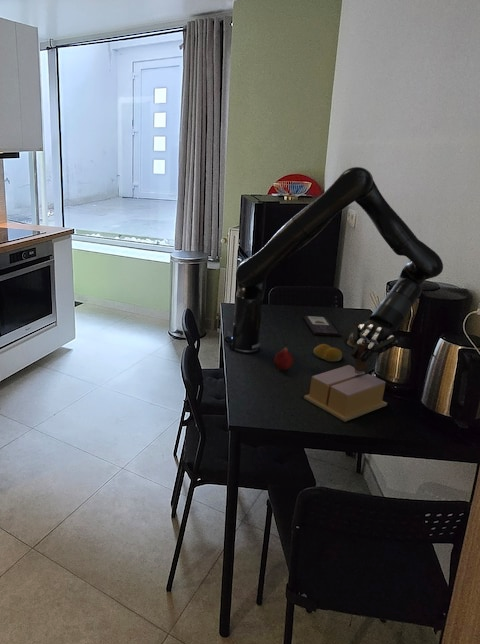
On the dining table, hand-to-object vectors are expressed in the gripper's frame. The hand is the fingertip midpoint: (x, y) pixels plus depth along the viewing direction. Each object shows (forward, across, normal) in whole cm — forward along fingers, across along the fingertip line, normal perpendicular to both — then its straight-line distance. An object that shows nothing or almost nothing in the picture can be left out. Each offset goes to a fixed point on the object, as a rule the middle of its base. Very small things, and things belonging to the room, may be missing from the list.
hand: (357, 358), depth 137 cm
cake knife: (+7, 0, +10) cm, 13 cm away
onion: (+12, -23, +7) cm, 26 cm away
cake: (+11, 0, +8) cm, 13 cm away
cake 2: (-18, -24, +36) cm, 47 cm away
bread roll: (-4, -23, +22) cm, 32 cm away
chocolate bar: (-18, -43, +37) cm, 60 cm away
